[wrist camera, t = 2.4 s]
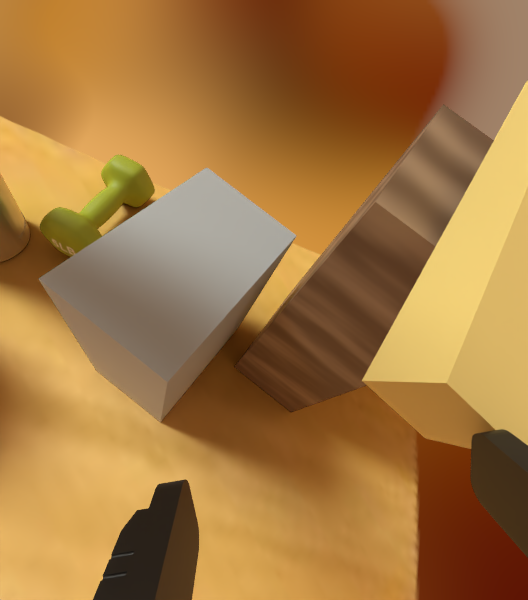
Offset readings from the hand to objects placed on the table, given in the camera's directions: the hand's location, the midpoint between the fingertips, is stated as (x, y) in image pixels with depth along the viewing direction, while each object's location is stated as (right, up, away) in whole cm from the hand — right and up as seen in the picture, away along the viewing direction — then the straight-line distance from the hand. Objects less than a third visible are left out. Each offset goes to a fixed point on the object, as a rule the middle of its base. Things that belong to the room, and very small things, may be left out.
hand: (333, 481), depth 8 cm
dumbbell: (-26, +17, +38) cm, 49 cm away
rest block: (-14, -1, +32) cm, 35 cm away
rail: (+11, +10, +8) cm, 17 cm away
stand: (+2, -2, +38) cm, 38 cm away
